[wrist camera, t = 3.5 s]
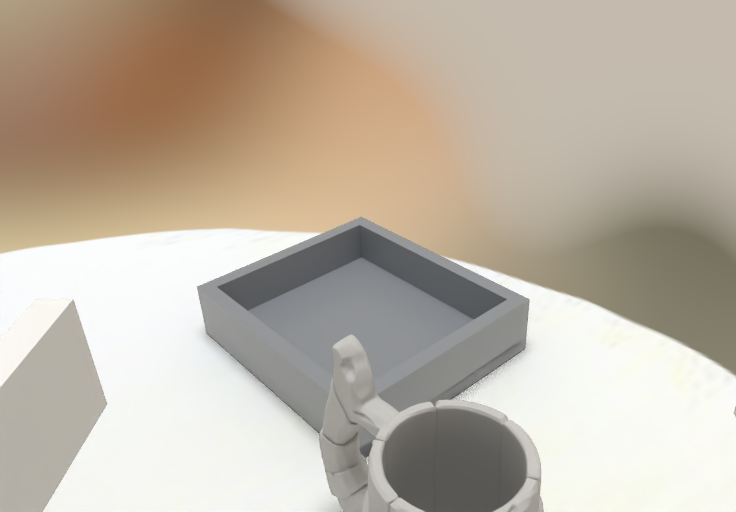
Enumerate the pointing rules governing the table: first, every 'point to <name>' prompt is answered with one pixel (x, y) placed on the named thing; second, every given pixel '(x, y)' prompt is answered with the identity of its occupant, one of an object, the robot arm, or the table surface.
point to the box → (363, 319)
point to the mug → (422, 450)
